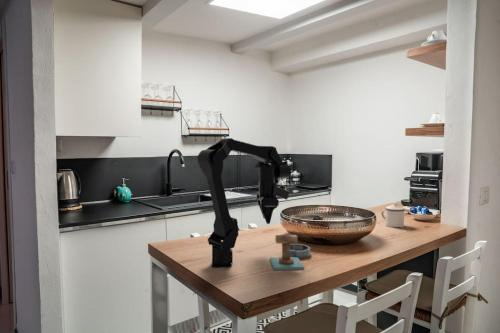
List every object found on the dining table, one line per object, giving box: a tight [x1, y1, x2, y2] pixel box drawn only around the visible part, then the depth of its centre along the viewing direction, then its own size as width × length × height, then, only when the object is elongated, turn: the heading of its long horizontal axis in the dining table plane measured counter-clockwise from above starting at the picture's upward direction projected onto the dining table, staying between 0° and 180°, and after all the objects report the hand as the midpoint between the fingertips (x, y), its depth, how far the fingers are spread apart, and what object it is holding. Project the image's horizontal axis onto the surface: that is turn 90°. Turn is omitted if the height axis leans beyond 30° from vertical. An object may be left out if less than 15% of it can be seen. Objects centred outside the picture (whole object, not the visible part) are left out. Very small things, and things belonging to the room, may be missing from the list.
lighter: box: [310, 213, 324, 221], centre depth 156 cm, size 8×3×10 cm, turn 47°
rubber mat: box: [269, 257, 305, 271], centre depth 121 cm, size 10×10×1 cm
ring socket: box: [290, 243, 311, 259], centre depth 132 cm, size 10×10×2 cm
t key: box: [275, 234, 299, 265], centre depth 121 cm, size 7×5×9 cm
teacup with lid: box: [380, 202, 406, 228], centre depth 179 cm, size 12×9×12 cm
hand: (266, 221), depth 134 cm, fingers open, 9 cm apart
